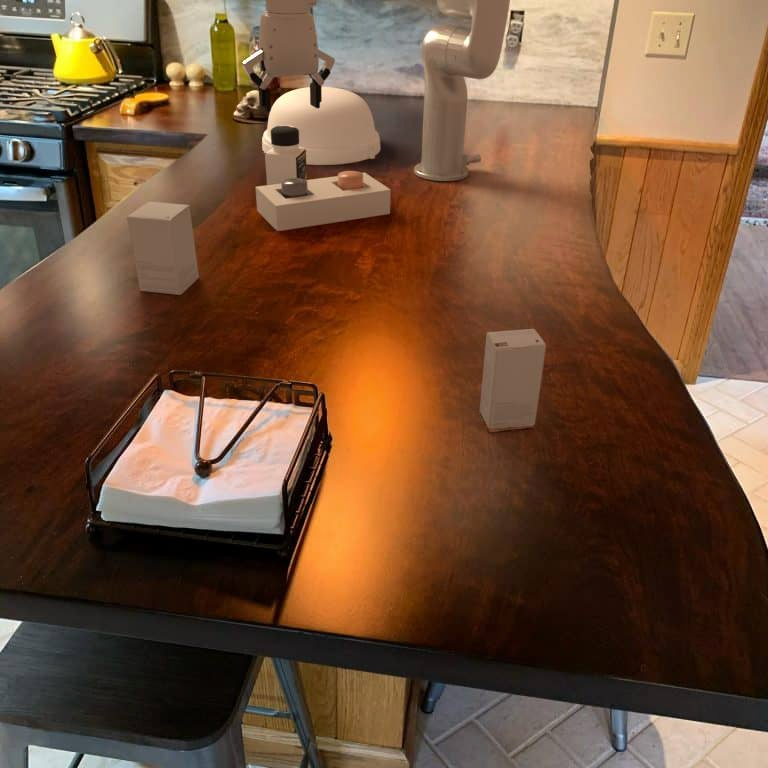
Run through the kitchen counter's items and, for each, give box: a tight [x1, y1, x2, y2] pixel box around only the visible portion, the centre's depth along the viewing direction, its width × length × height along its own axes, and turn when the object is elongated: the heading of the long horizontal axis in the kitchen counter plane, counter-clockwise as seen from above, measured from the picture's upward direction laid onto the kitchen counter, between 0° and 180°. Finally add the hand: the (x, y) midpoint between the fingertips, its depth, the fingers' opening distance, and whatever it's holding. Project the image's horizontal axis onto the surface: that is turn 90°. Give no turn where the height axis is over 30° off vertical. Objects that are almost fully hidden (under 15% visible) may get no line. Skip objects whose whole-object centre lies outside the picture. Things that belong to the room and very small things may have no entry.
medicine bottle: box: [264, 125, 308, 185], centre depth 168 cm, size 7×7×12 cm
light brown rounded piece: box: [337, 170, 363, 191], centre depth 155 cm, size 5×5×4 cm
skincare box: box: [479, 328, 547, 429], centre depth 91 cm, size 6×4×12 cm
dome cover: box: [261, 86, 381, 166], centre depth 191 cm, size 32×30×14 cm
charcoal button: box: [281, 178, 308, 199], centre depth 150 cm, size 5×5×4 cm
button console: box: [255, 172, 391, 232], centre depth 154 cm, size 24×12×5 cm, turn 117°
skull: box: [232, 89, 273, 124], centre depth 217 cm, size 12×10×10 cm
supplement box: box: [126, 201, 200, 296], centre depth 122 cm, size 7×7×13 cm
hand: (291, 108), depth 142 cm, fingers open, 9 cm apart
